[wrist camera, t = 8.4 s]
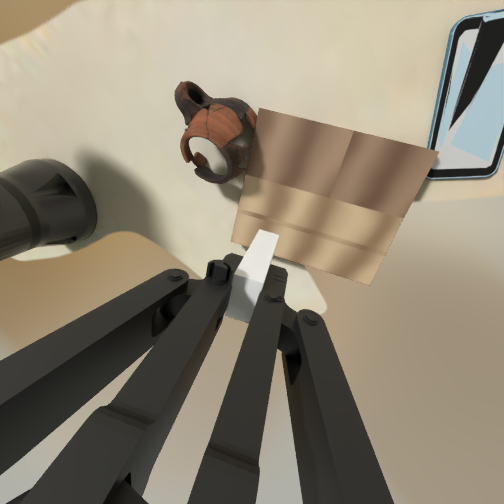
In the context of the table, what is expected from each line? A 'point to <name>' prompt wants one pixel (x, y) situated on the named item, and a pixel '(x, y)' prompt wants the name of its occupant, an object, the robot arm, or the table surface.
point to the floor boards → (338, 162)
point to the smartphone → (470, 100)
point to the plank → (315, 229)
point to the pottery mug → (213, 128)
